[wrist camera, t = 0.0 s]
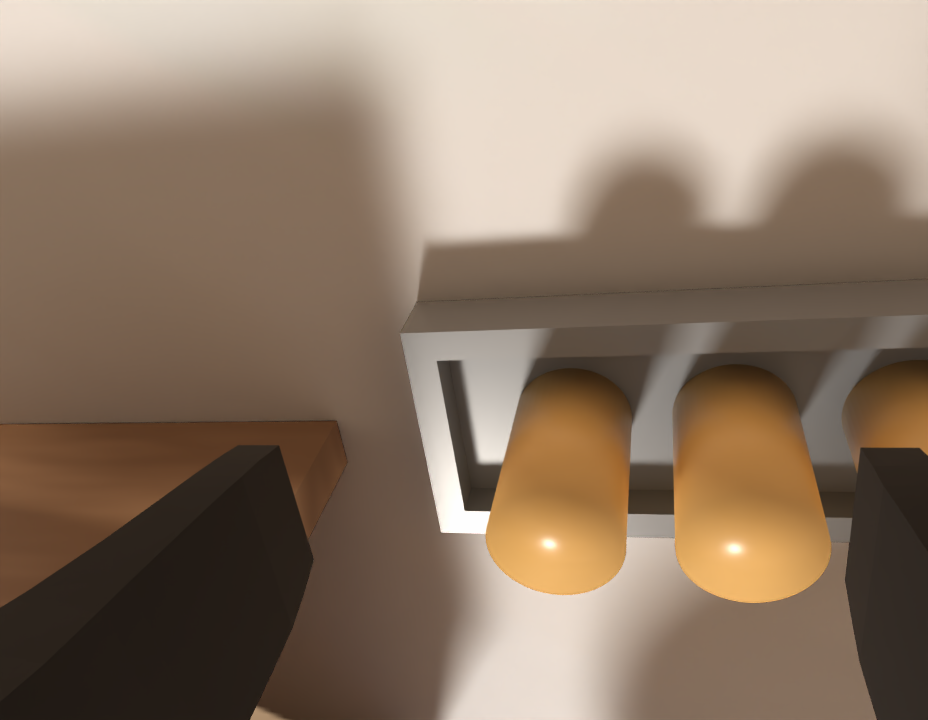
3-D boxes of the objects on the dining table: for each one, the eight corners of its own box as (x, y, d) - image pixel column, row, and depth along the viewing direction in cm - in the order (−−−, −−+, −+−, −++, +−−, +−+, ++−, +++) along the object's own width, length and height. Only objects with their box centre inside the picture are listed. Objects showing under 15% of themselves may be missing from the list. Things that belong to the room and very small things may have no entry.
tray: (1170, 500, 21) (1320, 690, 16) (453, 491, 25) (407, 638, 20) (1252, 262, 18) (1468, 412, 13) (417, 300, 22) (352, 422, 17)
